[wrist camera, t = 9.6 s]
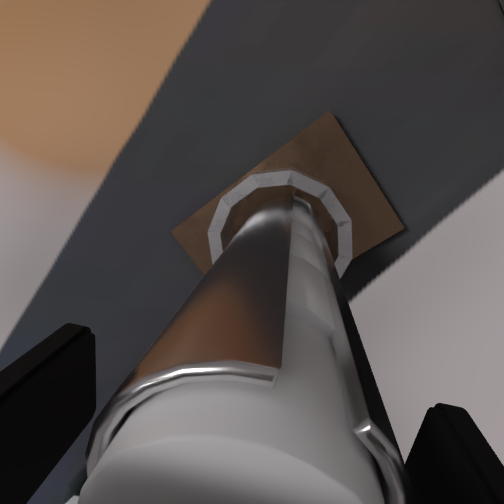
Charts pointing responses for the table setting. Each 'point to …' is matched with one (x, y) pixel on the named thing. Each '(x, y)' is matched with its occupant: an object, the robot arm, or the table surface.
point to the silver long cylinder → (253, 388)
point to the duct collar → (304, 186)
